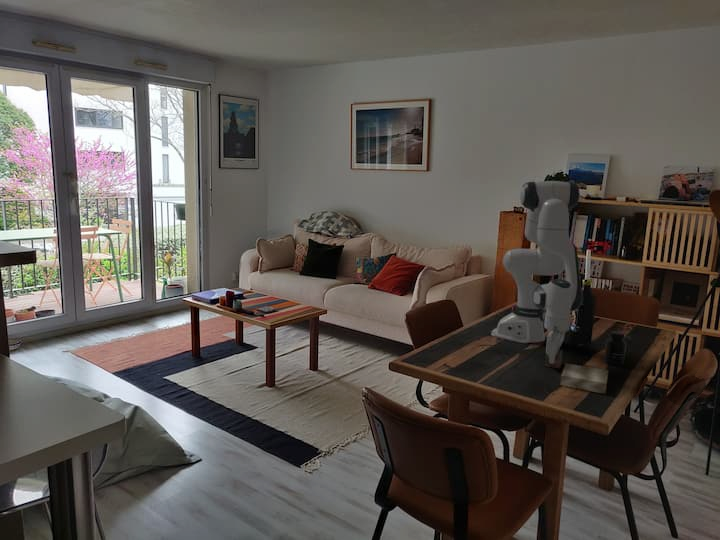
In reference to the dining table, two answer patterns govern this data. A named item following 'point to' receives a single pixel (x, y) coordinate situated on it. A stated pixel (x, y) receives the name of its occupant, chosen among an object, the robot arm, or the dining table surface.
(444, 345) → the dining table surface
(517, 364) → the dining table surface
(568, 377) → the ash platform
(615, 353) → the supplement bottle
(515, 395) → the dining table surface
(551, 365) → the walnut block
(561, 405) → the dining table surface
